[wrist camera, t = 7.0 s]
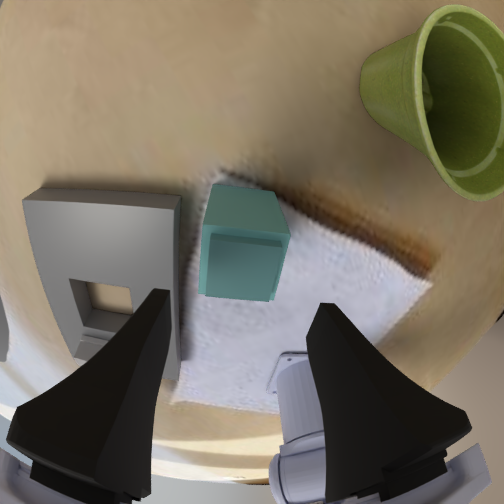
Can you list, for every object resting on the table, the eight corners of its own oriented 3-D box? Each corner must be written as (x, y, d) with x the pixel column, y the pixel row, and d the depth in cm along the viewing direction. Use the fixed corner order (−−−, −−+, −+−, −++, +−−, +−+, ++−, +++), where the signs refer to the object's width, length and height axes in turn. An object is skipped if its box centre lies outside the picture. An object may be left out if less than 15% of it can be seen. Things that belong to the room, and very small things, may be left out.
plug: (274, 191, 18) (293, 240, 12) (263, 244, 20) (274, 308, 14) (212, 184, 17) (201, 230, 11) (207, 238, 19) (197, 301, 13)
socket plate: (181, 195, 17) (173, 209, 15) (181, 362, 26) (178, 380, 24) (39, 188, 16) (22, 200, 14) (80, 343, 25) (74, 359, 23)
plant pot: (459, 114, 14) (543, 143, 7) (384, 179, 17) (462, 238, 10) (398, 11, 10) (483, -11, 3) (304, 71, 13) (368, 49, 6)
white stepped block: (145, 347, 21) (139, 371, 19) (153, 383, 25) (149, 404, 22) (82, 334, 21) (73, 356, 18) (98, 372, 24) (92, 391, 22)
